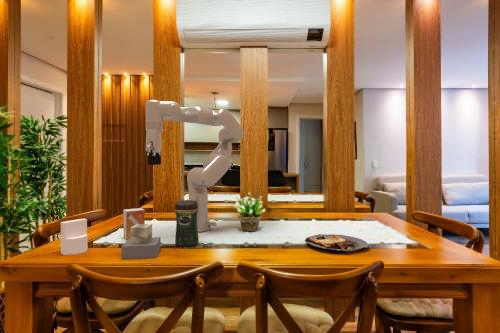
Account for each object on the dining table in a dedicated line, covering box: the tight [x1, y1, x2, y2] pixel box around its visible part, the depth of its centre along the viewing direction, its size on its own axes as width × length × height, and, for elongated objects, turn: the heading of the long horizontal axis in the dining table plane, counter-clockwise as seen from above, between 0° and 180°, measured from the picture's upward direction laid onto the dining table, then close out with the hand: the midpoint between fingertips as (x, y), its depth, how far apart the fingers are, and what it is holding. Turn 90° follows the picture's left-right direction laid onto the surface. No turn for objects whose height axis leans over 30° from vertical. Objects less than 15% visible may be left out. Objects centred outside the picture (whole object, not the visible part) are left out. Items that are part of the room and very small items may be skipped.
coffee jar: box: [174, 199, 200, 247], centre depth 129 cm, size 10×8×19 cm
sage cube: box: [130, 223, 153, 244], centre depth 116 cm, size 6×6×6 cm
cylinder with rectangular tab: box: [60, 218, 88, 256], centre depth 119 cm, size 9×9×12 cm
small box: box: [122, 207, 146, 241], centre depth 139 cm, size 8×6×13 cm
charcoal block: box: [120, 236, 162, 260], centre depth 116 cm, size 12×12×5 cm
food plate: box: [304, 233, 369, 253], centre depth 127 cm, size 25×23×4 cm
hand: (154, 164), depth 141 cm, fingers open, 9 cm apart
